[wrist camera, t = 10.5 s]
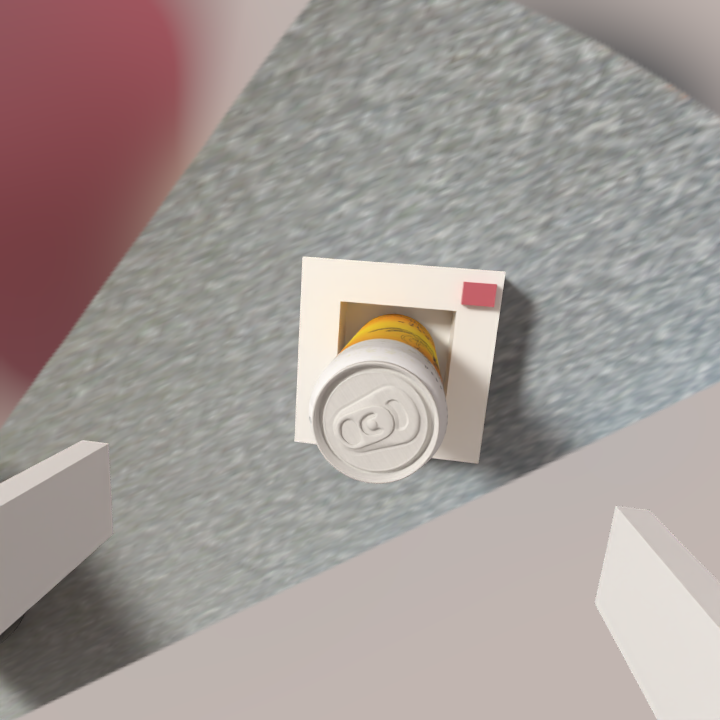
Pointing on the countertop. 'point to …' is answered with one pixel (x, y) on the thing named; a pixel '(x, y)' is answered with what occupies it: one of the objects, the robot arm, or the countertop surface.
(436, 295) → the socket block
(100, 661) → the countertop surface
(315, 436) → the beer can
